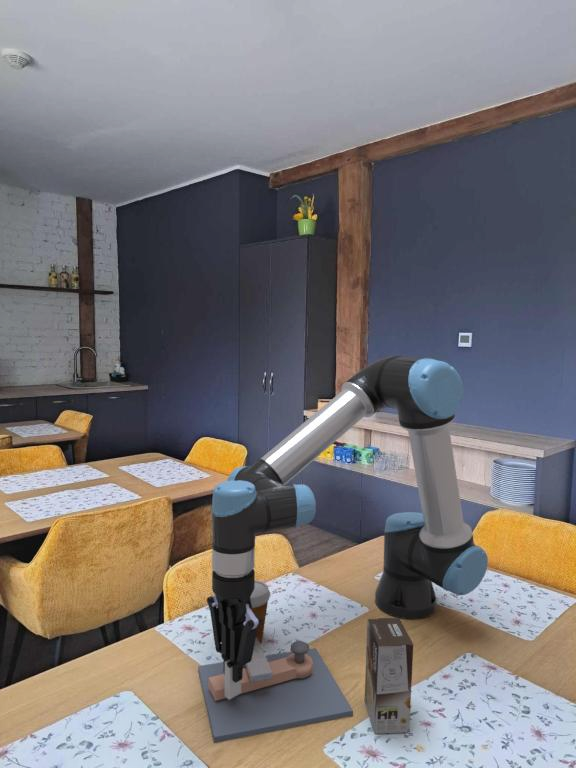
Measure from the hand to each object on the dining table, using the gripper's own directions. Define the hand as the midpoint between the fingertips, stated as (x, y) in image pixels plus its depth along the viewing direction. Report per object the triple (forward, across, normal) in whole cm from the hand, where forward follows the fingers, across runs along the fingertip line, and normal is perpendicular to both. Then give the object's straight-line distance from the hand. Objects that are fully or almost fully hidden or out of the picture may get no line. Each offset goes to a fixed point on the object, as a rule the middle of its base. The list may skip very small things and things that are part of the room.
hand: (232, 694), depth 100 cm
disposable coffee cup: (+3, +15, -16) cm, 22 cm away
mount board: (+3, -2, -8) cm, 9 cm away
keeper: (+3, +2, -7) cm, 8 cm away
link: (+1, +1, -8) cm, 8 cm away
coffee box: (+3, -20, -19) cm, 28 cm away
